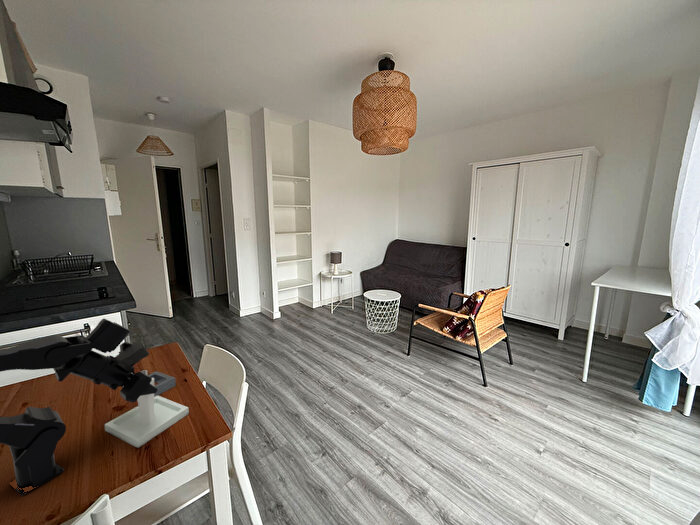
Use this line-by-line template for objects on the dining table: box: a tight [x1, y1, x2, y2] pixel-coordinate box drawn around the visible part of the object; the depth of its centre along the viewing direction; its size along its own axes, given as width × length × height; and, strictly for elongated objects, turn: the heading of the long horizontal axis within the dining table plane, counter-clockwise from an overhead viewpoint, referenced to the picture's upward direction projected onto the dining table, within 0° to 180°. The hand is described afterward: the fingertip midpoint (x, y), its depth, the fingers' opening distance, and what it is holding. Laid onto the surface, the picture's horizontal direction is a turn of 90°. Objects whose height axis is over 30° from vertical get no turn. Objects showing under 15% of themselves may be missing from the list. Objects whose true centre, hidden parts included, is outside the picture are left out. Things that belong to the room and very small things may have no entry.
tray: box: [104, 395, 190, 449], centre depth 79 cm, size 14×14×2 cm
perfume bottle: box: [136, 369, 156, 426], centre depth 77 cm, size 5×4×15 cm
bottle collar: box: [147, 371, 176, 397], centre depth 93 cm, size 10×10×3 cm
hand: (151, 387), depth 79 cm, fingers open, 5 cm apart
